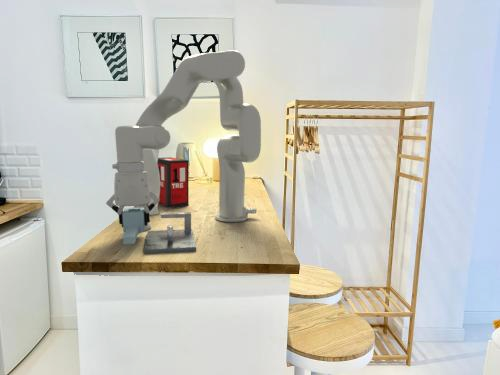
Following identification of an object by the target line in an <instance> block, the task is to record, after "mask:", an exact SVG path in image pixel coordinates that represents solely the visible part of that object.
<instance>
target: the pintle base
mask: <svg viewBox="0 0 500 375" xmlns="http://www.w3.org/2000/svg"><path fill="white" fill-rule="evenodd" d="M160 213H161V214H160V218H161V219H178V218H179V219H181V218H183V219H184V227H183V229H174V225H167V229H166V230H163V229H162V230H161V229H160V230H147V232H146V238H145V244H144V248H143V254H144V255H147V254H166V253H167V254H168V253H187V252H189V253H190V252H197V244H196V240H195V236H194V231H193V228H192V212H191V211H184V212H183V211H180V212H179V211H178V212H177V211H176V212H175V211H174V212H172V211H171V212H160Z"/></svg>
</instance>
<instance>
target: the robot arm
mask: <svg viewBox="0 0 500 375" xmlns="http://www.w3.org/2000/svg"><path fill="white" fill-rule="evenodd" d="M245 68H246V61H245V58H244V56H243V54H241V52H239V51H238V50H233V49H231V50H224V51H215V52H205V53H199V54H194V55H190V56H187V57H184V58H182V60H181V61H180V63H179V64H178V66H177V67H176V69H175V71H174V73H173V74H172V76H171V78H170V79H169V81H168V82H167V84H166V85H165V88H164V89H163V91H162V92H161V93H160V94H159V95H158V96H157V97H155V99H154V100H153V101H152V102H151V103H150V104H149V105H148V106H147V107H146V109H145V110H144V111H143V112H142V114H141V115H140V117H139V118H138V120H137V122H136V123H135V124H134V125H121V126H120V125H119V126H117V127H116V128H115V130H114V131H115V132H114V133H115V134H114V135H115V148H116V160H117V161H116V163H115V164H112V166H111V167H112V169H113V170H114V169H115V170H116V171H117V172H115V173H114V182H113V183H114V186H113V187H114V193H113V194H112V195H111V196H110V198H109V199H108V200H107V201H106V202H105V204H106V205H107V206H108V207H109V208H111V209H112V211H114V212H115V213H117V216H118V223H119V225H121V228H123V216H122V213H123V211H124V209H125V207H135V206H140V205H142V206H143V208H144V209H145V212H144V221H145V226H147V224H148V222H149V223H150V221H151V219H150V218H151V217H150V215H149V212H150V211H151V210H152V209H153V208H154V206H155V205H156V204H157V203H158V202H159V200H160V199H159V198H158V197H157V196H155V195H154V194H153V193H152V192H151V191H150V186H149V179H148V175H147V172H146V171H144V157H143V149H155V150H159V151H160V150H163V149H164V148H166V147H168V145H169V144H170V141H171V133H170V131H169V129H167V128H166V127H164V126H162V125H163V124H164V123H165V122H166V121H167V120H168V119H169V118H171V117H172V116H175V115H176V114H178V113H180V112H181V111H183V110H185V109H186V107H187V106H188V104H189V103H190V101H191V99H192V98H193V96H194V94H195V93H196V90H197V89H198V87H199V85H200V84H201V83H207V82H213V83H214V84H215V86H216V88H217V90H218V93H219V95H218V96H219V118H220V120H219V121H220V125H221V127H222V128H223V129H224V131H225V130H226V131H230V132H238V134H227V135H224V136H223V137H221V138H220V139H219V140H218V142H217V146H216V150H217V151H216V153H217V158H218V165H219V166H218V167H219V177H218V178H219V184H218V185H219V188H218V189H219V190H218V191H219V192H218V194H219V196H218V197H219V198H218V199H219V200H218V212H217V213H216V214H215V215H214V219H215V220H217V221H220V222H223V223H224V222H225V223H238V222H239V223H240V222H244V221H247V220H248V218H249V214H257V208H253V207H246V206H245V191H246V190H245V184H246V172H245V171H246V170H245V166H244V163H250V164H251V163H253V162H255V161H257V160H258V159H259V157H260V154H261V150H262V149H261V148H262V125H261V124H262V120H261V119H262V118H261V115H260V112H259V110H258V108H256V106H254V105H253V104H249V103H244V92H243V86H242V84H241V82H240V80H239V78H238V77H240V76H241V75H242V74H243V72H244V70H245ZM150 197H151V198H152V199H153V200H154V201H153V202H152V203H151V204H150V205H148V204H149V203H150Z"/></svg>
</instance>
